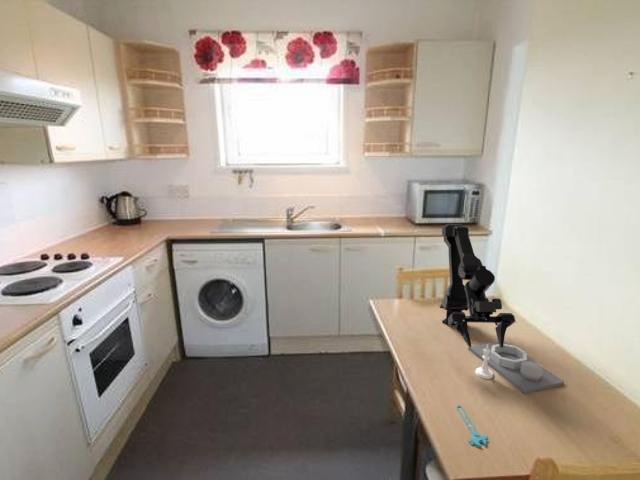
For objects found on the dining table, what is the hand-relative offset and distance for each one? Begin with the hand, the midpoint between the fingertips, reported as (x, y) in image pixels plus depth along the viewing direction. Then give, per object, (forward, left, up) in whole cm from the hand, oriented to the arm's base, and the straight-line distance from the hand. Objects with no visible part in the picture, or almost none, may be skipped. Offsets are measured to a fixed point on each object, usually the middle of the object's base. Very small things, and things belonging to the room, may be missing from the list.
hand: (485, 347), depth 110 cm
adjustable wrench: (+24, +7, -9) cm, 27 cm away
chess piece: (+1, +1, -9) cm, 9 cm away
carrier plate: (-10, +5, -9) cm, 14 cm away
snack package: (-39, -32, -9) cm, 51 cm away
